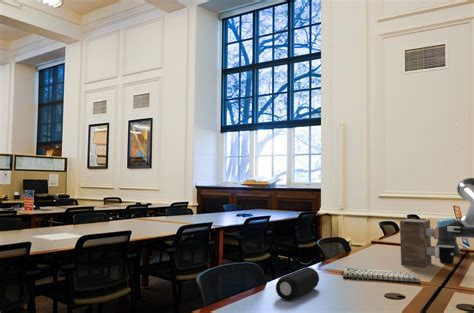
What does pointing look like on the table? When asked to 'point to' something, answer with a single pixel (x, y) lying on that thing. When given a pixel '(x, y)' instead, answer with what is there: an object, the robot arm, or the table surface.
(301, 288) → the portable speaker
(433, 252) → the white rounded piece
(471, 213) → the robot arm
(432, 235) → the terracotta key
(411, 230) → the key console
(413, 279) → the mechanical keyboard
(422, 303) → the table surface
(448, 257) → the mug
